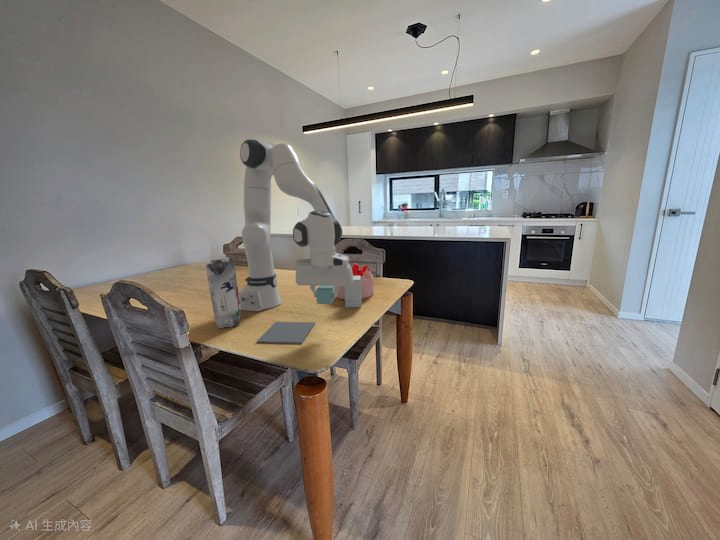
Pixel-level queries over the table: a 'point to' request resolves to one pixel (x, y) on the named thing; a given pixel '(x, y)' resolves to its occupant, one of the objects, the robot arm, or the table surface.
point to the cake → (366, 282)
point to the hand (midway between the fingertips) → (325, 297)
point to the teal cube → (324, 294)
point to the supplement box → (353, 293)
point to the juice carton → (224, 292)
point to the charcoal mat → (287, 332)
